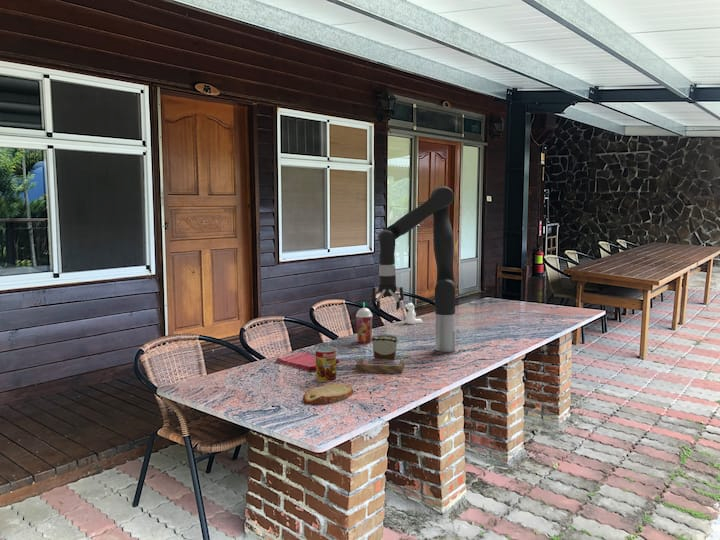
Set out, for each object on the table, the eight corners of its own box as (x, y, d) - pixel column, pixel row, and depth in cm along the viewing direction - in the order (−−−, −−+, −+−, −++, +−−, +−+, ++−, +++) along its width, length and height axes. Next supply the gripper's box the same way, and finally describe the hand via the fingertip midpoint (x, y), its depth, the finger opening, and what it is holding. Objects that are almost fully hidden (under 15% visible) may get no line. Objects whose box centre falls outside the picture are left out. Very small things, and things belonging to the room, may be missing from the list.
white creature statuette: (422, 322, 341) (422, 301, 340) (415, 325, 334) (415, 304, 333) (408, 321, 346) (408, 300, 345) (400, 323, 339) (400, 302, 338)
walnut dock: (404, 367, 252) (404, 360, 252) (401, 373, 243) (401, 366, 243) (359, 365, 256) (359, 358, 256) (355, 371, 247) (355, 364, 246)
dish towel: (311, 373, 247) (311, 366, 247) (274, 363, 263) (274, 357, 263) (340, 364, 260) (340, 358, 260) (303, 355, 276) (303, 350, 275)
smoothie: (375, 341, 299) (375, 301, 297) (368, 344, 291) (368, 304, 289) (360, 339, 302) (359, 300, 300) (353, 343, 295) (352, 303, 293)
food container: (401, 357, 268) (401, 335, 267) (397, 361, 262) (397, 338, 261) (375, 355, 272) (375, 333, 271) (371, 359, 266) (370, 336, 265)
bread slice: (353, 388, 226) (353, 379, 225) (353, 404, 208) (353, 394, 208) (305, 389, 226) (305, 380, 225) (301, 406, 208) (301, 395, 207)
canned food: (328, 383, 232) (328, 352, 230) (312, 380, 236) (311, 350, 235) (340, 377, 239) (339, 348, 237) (323, 375, 243) (323, 346, 241)
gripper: (404, 273, 275) (404, 308, 277) (373, 273, 278) (374, 307, 280) (401, 275, 268) (402, 311, 269) (370, 275, 271) (371, 310, 273)
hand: (388, 309), depth 275 cm, fingers open, 8 cm apart
